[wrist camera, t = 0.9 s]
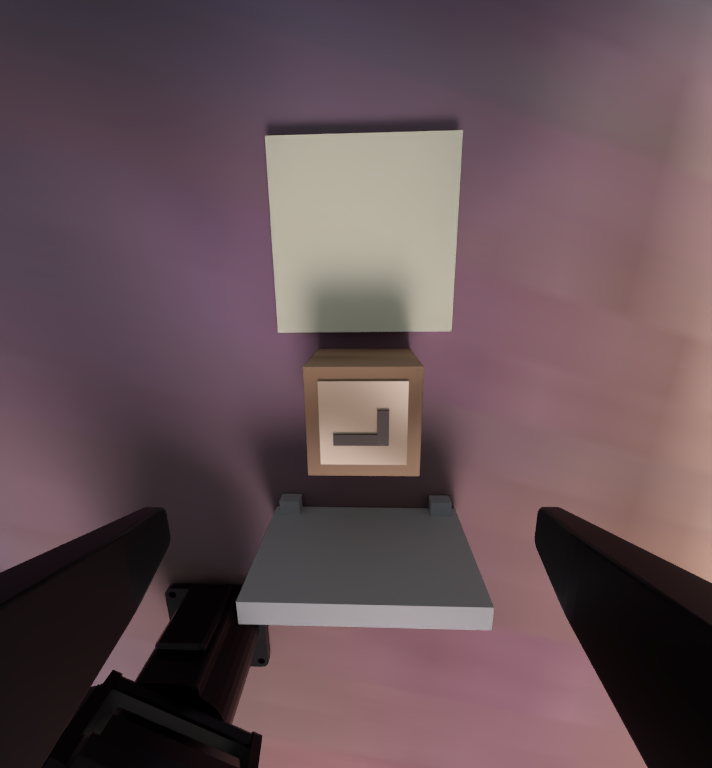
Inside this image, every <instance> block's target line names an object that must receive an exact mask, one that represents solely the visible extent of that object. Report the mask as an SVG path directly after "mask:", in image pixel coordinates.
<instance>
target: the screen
mask: <svg viewBox="0 0 712 768" xmlns="http://www.w3.org/2000/svg"><path fill="white" fill-rule="evenodd" d="M279 505H280V506H277V508H276V510H275V512H274V514H273V517H272V519H271V521H270V524H269V526H268V528H267V531H266V533H265V535H264V538H263V540H262V542H261V545H260V547H259V549H258V552H257V554H256V556H255V559H254V561H253V563H252V566H251V568H250V570H249V573H248V575H247V577H246V580H245V582H244V584H243V587H242V589H241V591H240V594H239V596H238V598H237V600H236V607H237V616H238V624H255V625H296V626H337V627H378V628H419V629H460V630H492V622H493V612H494V606H493V604H492V601H491V599H490V596H489V594H488V591H487V589H486V586H485V584H484V581H483V579H482V576H481V574H480V571H479V569H478V566H477V564H476V561H475V559H474V556H473V554H472V551H471V549H470V546H469V543H468V541H467V538H466V536H465V533H464V531H463V528H462V526H461V523H460V521H459V518H458V516H457V513H456V511H455V509H454V508H452V502H451V500H450V497H449V495H429V505H428V508H369V507H302V494H282V496H281V498H280V500H279Z"/></svg>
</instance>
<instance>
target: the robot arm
mask: <svg viewBox="0 0 712 768" xmlns="http://www.w3.org/2000/svg"><path fill="white" fill-rule="evenodd" d="M169 543H170V531H169V525H168V520H167V514H166V511H165V509H164V508H162V507H145V508H142V509H140V510H138V511H136V512H134V513H131V514H129V515H127V516H125V517H122V518H120V519H118V520H116V521H114V522H111V523H109V524H107V525H105V526H103V527H100V528H98V529H96V530H94V531H92V532H89V533H87V534H85V535H83V536H80V537H78V538H76V539H74V540H72V541H69V542H67V543H65V544H63V545H61V546H58V547H56V548H54V549H52V550H50V551H47V552H45V553H43V554H41V555H39V556H36V557H34V558H32V559H30V560H27V561H25V562H23V563H21V564H19V565H16V566H14V567H12V568H10V569H8V570H5V571H3V572H1V573H0V768H258V764H259V757H260V749H261V742H262V735H260V734H258V733H256V732H254V731H253V732H252V733H250V732H248V731H246V730H243V729H241V728H239V727H236V726H234V725H232V722H233V719H234V716H235V713H236V710H237V706H238V703H239V700H240V697H241V694H242V691H243V687H244V684H245V681H246V678H247V675H248V672H249V669H250V666H260V667H262V666H266V665H267V664H268V662H269V658H270V650H269V639H268V629H267V625H255V624H238V616H237V607H236V600H237V598H238V596H239V594H240V591H241V589H242V587H243V585H210V584H172V585H170V586H169V588H168V589H167V591H166V592H165V596H166V602H167V607H168V613H169V618H170V621H169V623H168V625H167V626H166V628H165V630H164V631H163V633H162V635H161V636H160V638H159V639H158V641H157V643H156V645H155V649H154V650H153V652H152V654H151V655H150V657H149V659H148V660H147V662H146V664H145V665H144V667H143V669H142V670H141V672H140V674H139V675H138V677H137V679H136V680H135V682H134V681H132V680H130V679H127V678H125V677H123V676H122V673H120V672H118V671H115V670H112V672H111V673H110V675H109V676H108V677H107V679H106V680H105V681H104V683H103V684H101V685H99V684H98V685H97V686H93V687H91V685H92V683H93V682H94V680H95V678H96V677H97V675H98V674H99V672H100V670H101V669H102V667H103V665H104V664H105V662H106V660H107V659H108V657H109V655H110V654H111V652H112V650H113V649H114V647H115V646H116V644H117V642H118V641H119V639H120V637H121V636H122V634H123V632H124V631H125V629H126V627H127V626H128V624H129V623H130V621H131V619H132V617H133V616H134V614H135V612H136V611H137V609H138V607H139V605H140V603H141V601H142V599H143V597H144V595H145V593H146V591H147V589H148V587H149V585H150V583H151V581H152V579H153V577H154V575H155V573H156V571H157V569H158V567H159V565H160V563H161V561H162V559H163V557H164V555H165V553H166V551H167V549H168V546H169ZM535 544H536V548H537V551H538V553H539V555H540V558H541V560H542V562H543V565H544V567H545V569H546V572H547V574H548V576H549V579H550V581H551V584H552V586H553V588H554V591H555V593H556V595H557V598H558V600H559V602H560V605H561V607H562V609H563V611H564V613H565V615H566V617H567V619H568V621H569V623H570V625H571V627H572V629H573V631H574V632H575V634H576V636H577V638H578V640H579V642H580V644H581V645H582V647H583V649H584V651H585V653H586V655H587V656H588V658H589V660H590V662H591V664H592V666H593V668H594V669H595V671H596V673H597V675H598V677H599V679H600V680H601V682H602V684H603V686H604V688H605V690H606V692H607V693H608V695H609V697H610V699H611V701H612V703H613V704H614V706H615V708H616V710H617V712H618V714H619V716H620V717H621V719H622V721H623V723H624V725H625V727H626V728H627V730H628V732H629V734H630V736H631V738H632V740H633V741H634V743H635V745H636V747H637V749H638V751H639V752H640V754H641V756H642V758H643V760H644V762H645V764H646V765H647V767H648V768H712V583H710V582H708V581H706V580H704V579H702V578H700V577H698V576H696V575H694V574H692V573H690V572H688V571H686V570H684V569H682V568H680V567H678V566H676V565H674V564H672V563H670V562H668V561H666V560H664V559H662V558H660V557H658V556H656V555H654V554H652V553H650V552H648V551H646V550H644V549H642V548H640V547H638V546H636V545H634V544H632V543H630V542H628V541H626V540H624V539H622V538H620V537H618V536H616V535H614V534H612V533H610V532H608V531H606V530H604V529H602V528H600V527H598V526H596V525H594V524H592V523H590V522H588V521H586V520H584V519H582V518H580V517H578V516H576V515H574V514H572V513H569V512H567V511H565V510H563V509H561V508H559V507H541V508H540V509H539V511H538V514H537V523H536V531H535ZM174 592H175V593H174Z"/></svg>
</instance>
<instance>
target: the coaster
mask: <svg viewBox="0 0 712 768" xmlns="http://www.w3.org/2000/svg"><path fill="white" fill-rule="evenodd" d="M462 139H463V130H450V131H414V132H378V133H342V134H307V135H271V136H265V144H266V159H267V174H268V190H269V205H270V220H271V235H272V250H273V265H274V280H275V295H276V310H277V325H278V333H290V332H436V331H451V330H452V312H453V295H454V278H455V260H456V243H457V226H458V208H459V191H460V174H461V156H462Z"/></svg>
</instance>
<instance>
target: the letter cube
mask: <svg viewBox="0 0 712 768" xmlns="http://www.w3.org/2000/svg"><path fill="white" fill-rule="evenodd" d="M423 372H424V366H423V365H422V364H421V362H420V361H419V360H418V358H417V357H416V356H415V354H414V353H413V352H412V350H411V349H410V348H386V349H318V350H317V352H316V353H315V354H314V355H313V356H312V357H311V358H310V360H309V361H308V362H307V363H306V364H305V365H304V366H303V379H304V400H305V420H306V440H307V460H308V475H323V476H419V475H420V449H421V424H422V398H423Z"/></svg>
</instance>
